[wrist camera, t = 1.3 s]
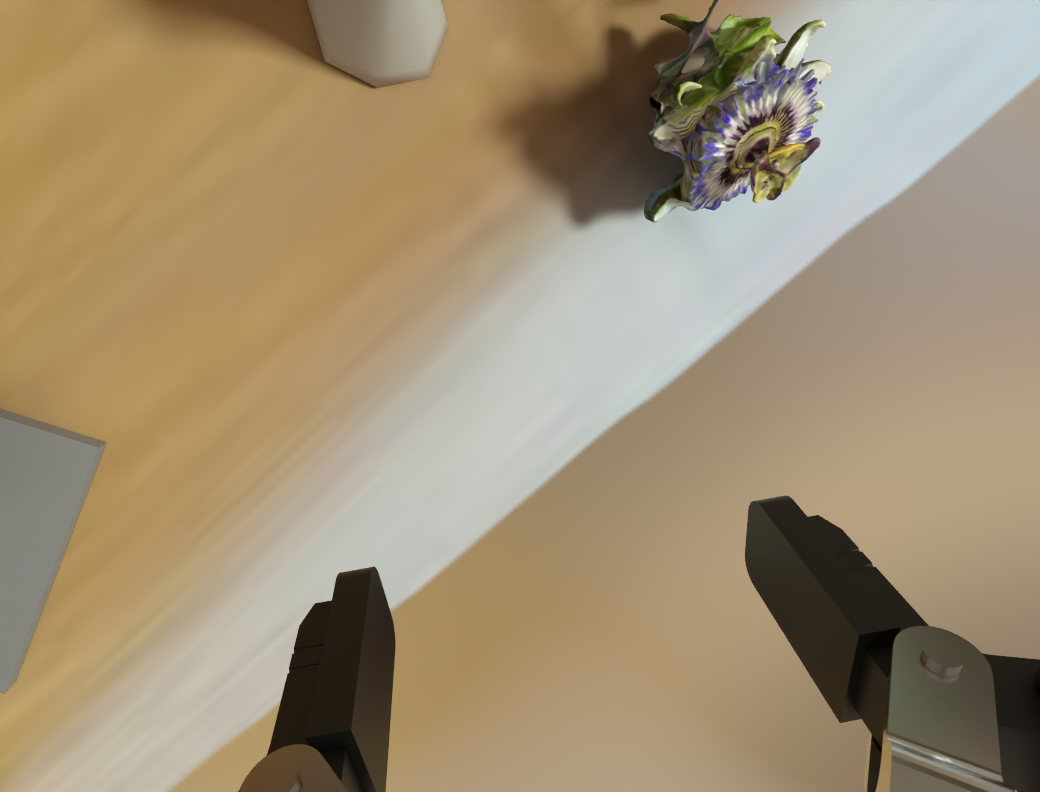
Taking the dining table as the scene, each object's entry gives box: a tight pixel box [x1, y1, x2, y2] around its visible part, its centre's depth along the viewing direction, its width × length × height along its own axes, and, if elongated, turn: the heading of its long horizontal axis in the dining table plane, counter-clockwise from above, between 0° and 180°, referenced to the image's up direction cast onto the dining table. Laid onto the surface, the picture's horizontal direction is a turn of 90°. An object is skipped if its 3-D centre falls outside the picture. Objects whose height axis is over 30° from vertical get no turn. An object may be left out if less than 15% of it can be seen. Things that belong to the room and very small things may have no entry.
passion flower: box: [644, 0, 832, 222], centre depth 34 cm, size 11×11×12 cm
